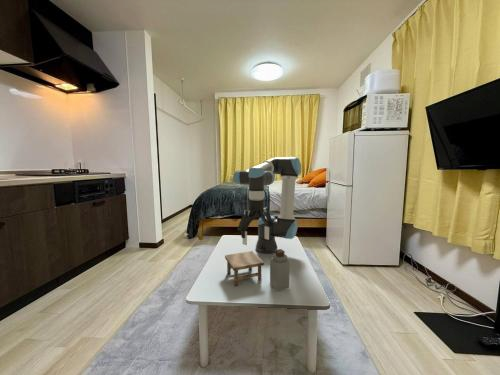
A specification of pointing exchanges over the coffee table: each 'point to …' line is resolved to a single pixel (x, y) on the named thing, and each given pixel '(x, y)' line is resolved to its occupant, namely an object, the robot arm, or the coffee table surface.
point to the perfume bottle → (279, 271)
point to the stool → (243, 264)
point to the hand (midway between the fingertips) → (256, 241)
